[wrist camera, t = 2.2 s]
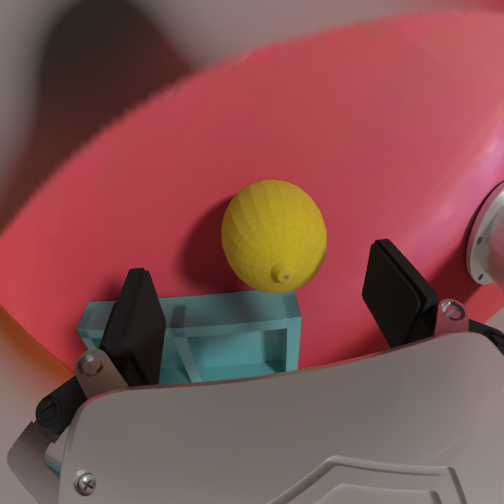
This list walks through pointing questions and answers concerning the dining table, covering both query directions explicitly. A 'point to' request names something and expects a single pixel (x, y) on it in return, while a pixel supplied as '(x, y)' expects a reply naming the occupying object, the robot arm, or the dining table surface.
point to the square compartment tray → (217, 335)
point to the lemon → (273, 236)
